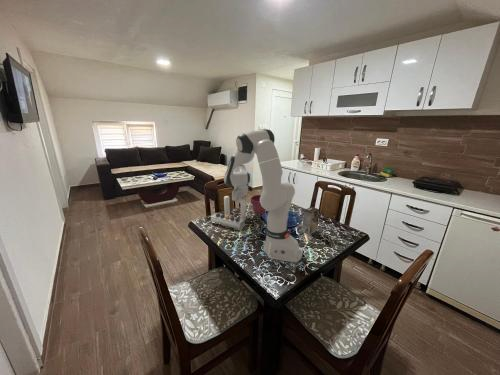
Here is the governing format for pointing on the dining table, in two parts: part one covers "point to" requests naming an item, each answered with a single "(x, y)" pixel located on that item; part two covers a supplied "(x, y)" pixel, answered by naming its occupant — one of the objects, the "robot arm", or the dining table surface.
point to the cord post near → (243, 208)
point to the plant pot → (257, 204)
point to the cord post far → (226, 205)
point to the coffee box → (310, 220)
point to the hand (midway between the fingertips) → (240, 202)
